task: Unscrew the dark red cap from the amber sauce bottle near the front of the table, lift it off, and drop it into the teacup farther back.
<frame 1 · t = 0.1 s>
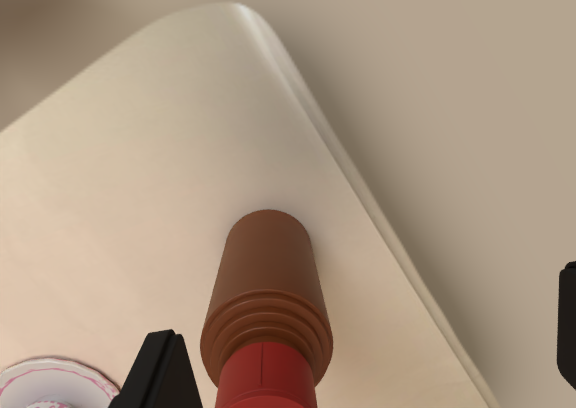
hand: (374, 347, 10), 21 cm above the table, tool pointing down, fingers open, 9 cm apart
bottle: (268, 249, 32), on the table
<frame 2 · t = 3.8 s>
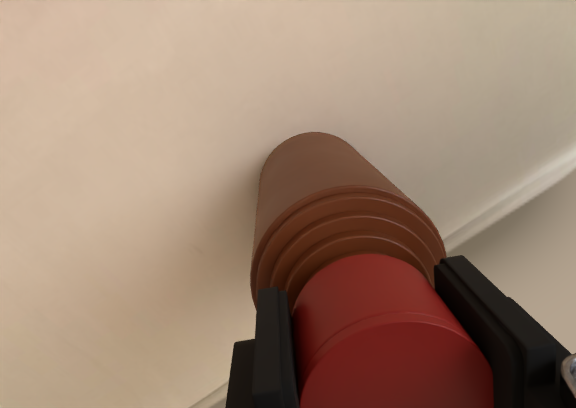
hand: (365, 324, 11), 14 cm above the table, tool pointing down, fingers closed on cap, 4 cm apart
bottle: (313, 186, 25), on the table
cap: (393, 397, 9), point 17 cm above the table, screwed on, not yet turned, touching gripper
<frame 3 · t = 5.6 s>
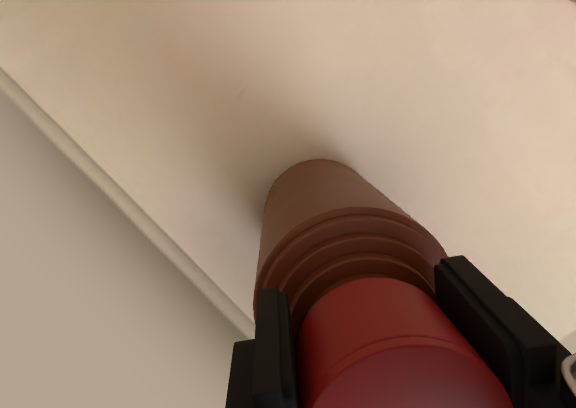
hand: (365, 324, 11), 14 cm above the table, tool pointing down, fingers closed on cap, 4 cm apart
bottle: (319, 213, 25), on the table, touching gripper
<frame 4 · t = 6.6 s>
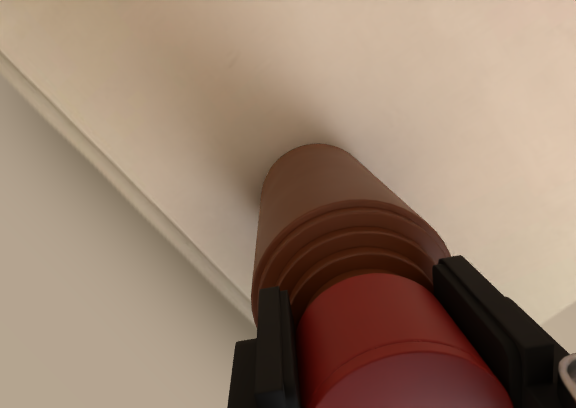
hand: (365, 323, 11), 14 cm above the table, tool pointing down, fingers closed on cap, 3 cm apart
bottle: (316, 198, 25), on the table
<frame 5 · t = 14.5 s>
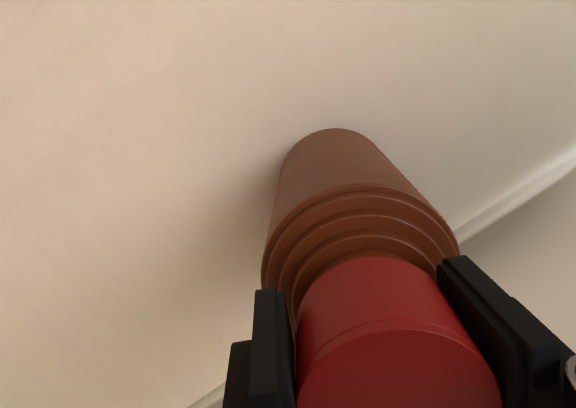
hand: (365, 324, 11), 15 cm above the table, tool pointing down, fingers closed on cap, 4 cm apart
bottle: (334, 183, 25), on the table
cap: (394, 405, 9), point 17 cm above the table, turned 175° so far, risen 0.2 cm, still on its thread, touching gripper
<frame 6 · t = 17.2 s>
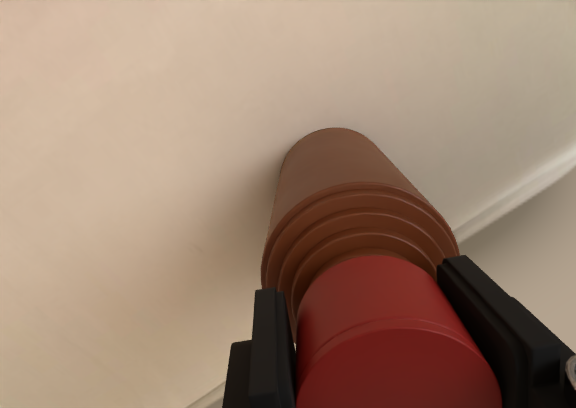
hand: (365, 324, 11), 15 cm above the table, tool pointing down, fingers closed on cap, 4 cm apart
bottle: (333, 182, 25), on the table
cap: (394, 404, 9), point 18 cm above the table, turned 263° so far, risen 0.2 cm, still on its thread, touching gripper
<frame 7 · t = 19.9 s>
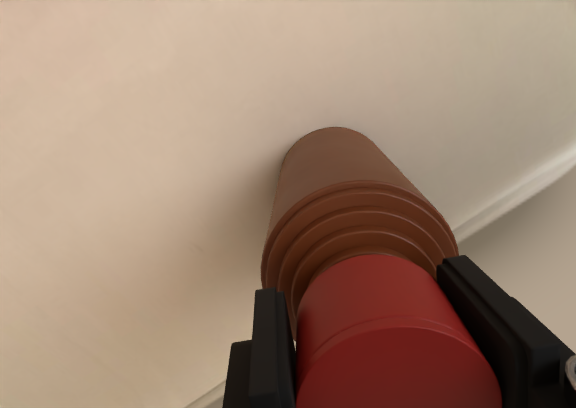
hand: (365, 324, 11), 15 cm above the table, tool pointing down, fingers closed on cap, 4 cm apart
bottle: (333, 181, 25), on the table
cap: (394, 403, 9), point 18 cm above the table, turned 352° so far, risen 0.3 cm, still on its thread, touching gripper
when the fingers open (8 cm above the table, at t = 29.0 s): cap drops 2 cm, resting on teacup.
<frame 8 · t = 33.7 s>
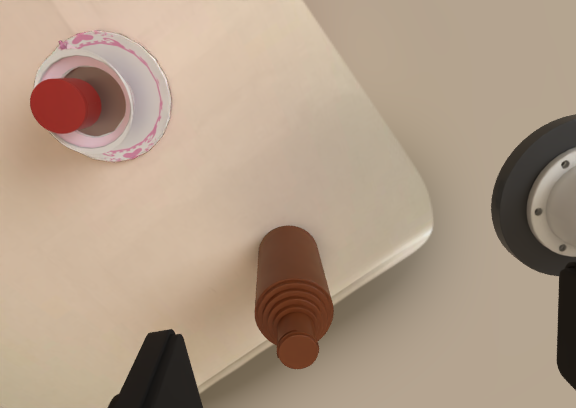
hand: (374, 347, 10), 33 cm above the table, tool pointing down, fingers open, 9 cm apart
bottle: (288, 253, 46), on the table
cap: (59, 106, 32), point 9 cm above the table, off its thread, touching teacup
teacup: (109, 98, 40), on the table, touching cap
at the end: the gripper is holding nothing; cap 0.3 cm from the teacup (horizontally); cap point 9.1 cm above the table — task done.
